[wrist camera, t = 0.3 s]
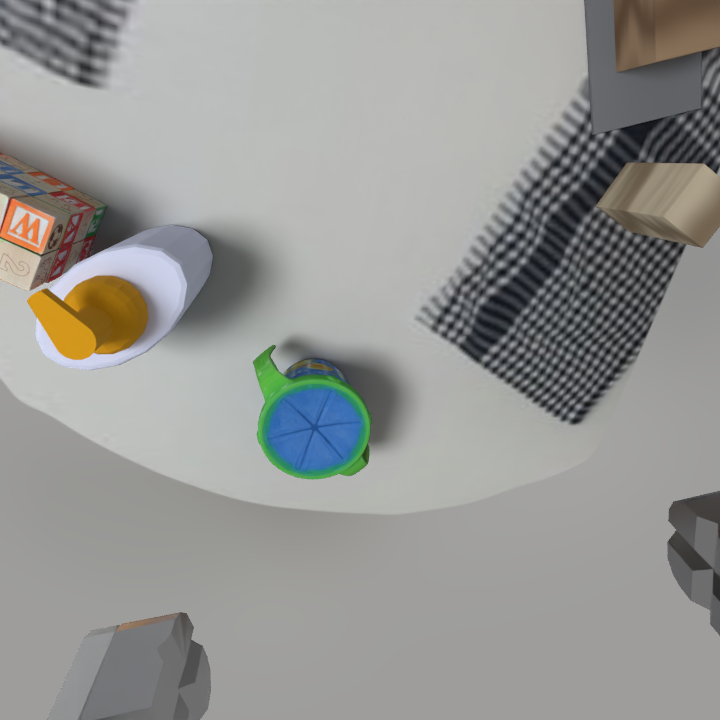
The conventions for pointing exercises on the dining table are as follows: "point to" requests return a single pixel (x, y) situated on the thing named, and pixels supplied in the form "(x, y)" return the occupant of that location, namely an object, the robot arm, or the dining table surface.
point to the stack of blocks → (42, 225)
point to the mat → (634, 79)
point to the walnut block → (663, 30)
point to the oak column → (666, 201)
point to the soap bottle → (121, 298)
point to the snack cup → (311, 419)
